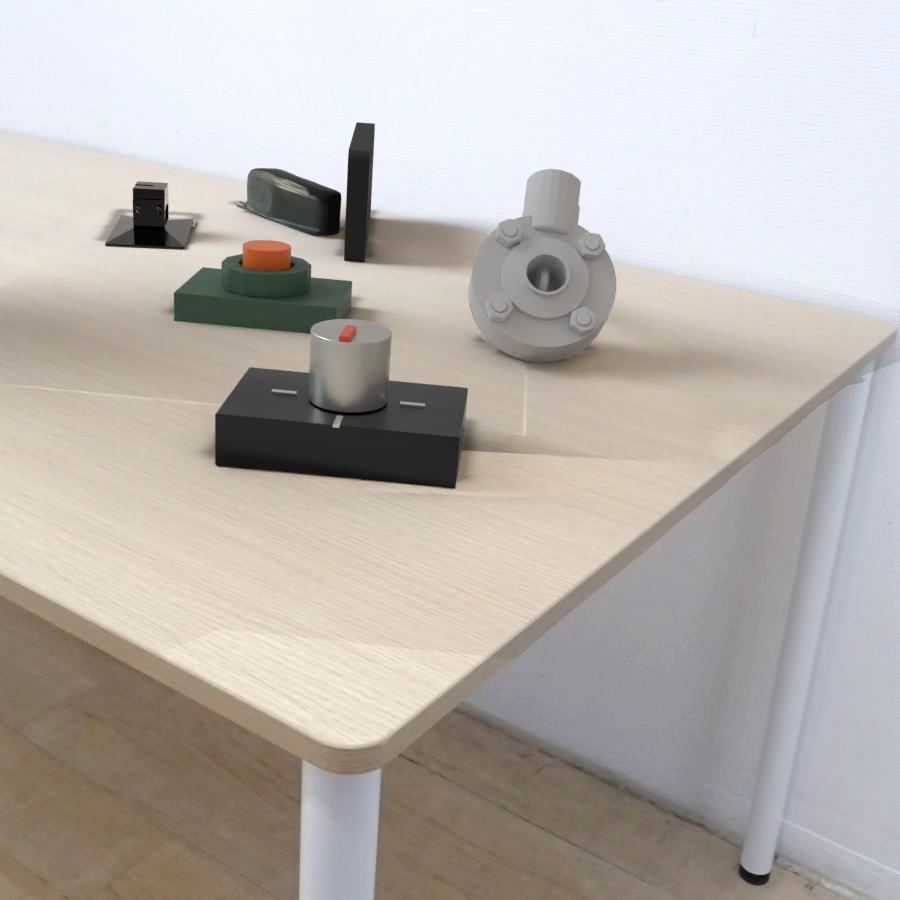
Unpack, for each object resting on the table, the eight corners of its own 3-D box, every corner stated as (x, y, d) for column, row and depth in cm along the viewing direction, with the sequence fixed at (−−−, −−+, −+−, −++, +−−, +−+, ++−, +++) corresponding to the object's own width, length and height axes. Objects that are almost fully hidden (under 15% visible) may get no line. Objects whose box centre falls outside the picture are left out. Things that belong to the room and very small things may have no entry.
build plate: (121, 219, 117) (120, 172, 115) (196, 223, 118) (196, 176, 116) (104, 246, 106) (102, 194, 104) (187, 250, 107) (187, 199, 105)
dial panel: (213, 468, 63) (213, 413, 62) (249, 412, 71) (250, 362, 70) (455, 491, 62) (459, 436, 61) (464, 432, 70) (468, 383, 69)
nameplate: (364, 264, 107) (369, 152, 103) (343, 262, 107) (348, 151, 103) (370, 217, 126) (375, 122, 123) (352, 216, 126) (356, 120, 122)
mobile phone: (347, 188, 115) (255, 159, 124) (323, 190, 113) (231, 161, 122) (344, 238, 117) (253, 206, 126) (321, 241, 115) (230, 208, 124)
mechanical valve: (464, 328, 80) (492, 140, 85) (445, 415, 97) (469, 254, 102) (612, 352, 80) (631, 163, 85) (567, 434, 97) (585, 273, 102)
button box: (173, 321, 86) (173, 268, 85) (202, 293, 94) (202, 244, 92) (335, 336, 86) (337, 283, 85) (351, 307, 93) (353, 258, 92)
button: (237, 271, 87) (237, 248, 86) (248, 260, 90) (248, 238, 90) (285, 276, 87) (286, 252, 86) (294, 264, 90) (295, 242, 90)
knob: (317, 382, 68) (320, 310, 66) (393, 390, 67) (397, 318, 66) (300, 408, 64) (302, 332, 62) (380, 417, 63) (385, 340, 62)
